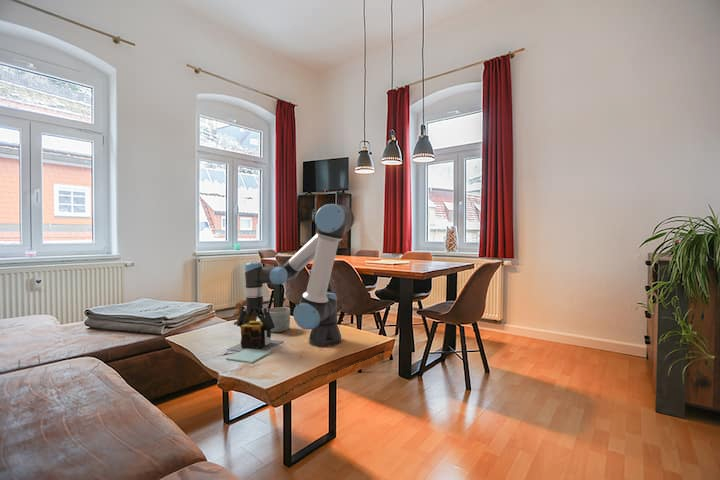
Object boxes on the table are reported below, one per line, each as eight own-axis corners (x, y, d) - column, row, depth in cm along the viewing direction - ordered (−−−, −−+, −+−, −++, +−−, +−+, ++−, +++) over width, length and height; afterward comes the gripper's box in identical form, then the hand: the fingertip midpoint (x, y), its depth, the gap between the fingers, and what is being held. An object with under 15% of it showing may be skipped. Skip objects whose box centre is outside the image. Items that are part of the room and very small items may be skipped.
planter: (287, 333, 183) (287, 312, 182) (263, 333, 183) (263, 312, 182) (292, 326, 195) (292, 306, 195) (270, 327, 195) (269, 307, 195)
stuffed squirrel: (240, 320, 213) (239, 298, 212) (261, 321, 209) (261, 298, 209) (230, 324, 203) (229, 301, 203) (252, 325, 200) (251, 302, 199)
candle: (261, 349, 158) (260, 326, 158) (240, 348, 160) (239, 326, 160) (271, 341, 168) (270, 320, 168) (251, 341, 170) (250, 320, 170)
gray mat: (283, 341, 169) (283, 341, 169) (259, 354, 152) (259, 353, 152) (253, 338, 176) (253, 337, 176) (226, 350, 159) (226, 349, 159)
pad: (271, 352, 154) (271, 351, 154) (252, 363, 142) (251, 361, 142) (247, 349, 159) (247, 348, 159) (226, 359, 147) (226, 358, 147)
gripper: (281, 295, 162) (283, 342, 163) (239, 293, 171) (240, 337, 172) (271, 298, 155) (273, 347, 156) (227, 296, 164) (229, 342, 165)
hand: (256, 342), depth 164 cm, fingers open, 12 cm apart
